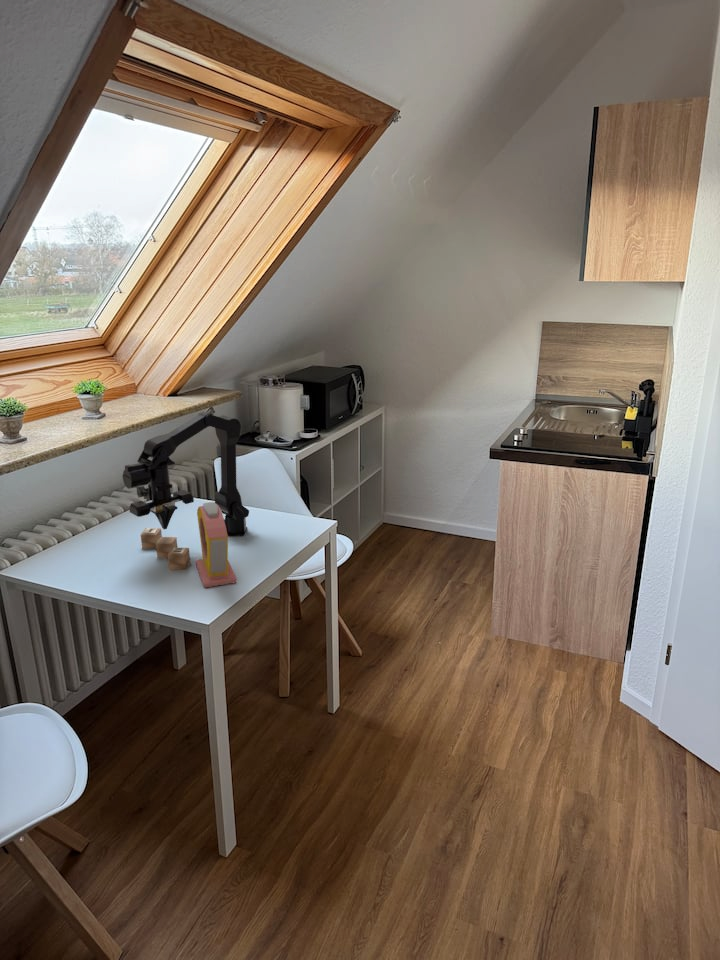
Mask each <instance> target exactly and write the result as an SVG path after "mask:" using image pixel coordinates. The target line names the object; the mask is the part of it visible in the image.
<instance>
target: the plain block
mask: <svg viewBox="0 0 720 960" xmlns="http://www.w3.org/2000/svg"><path fill="white" fill-rule="evenodd" d="M177 538H178V537H176V536H162V537H160V539H159V540H158V541H157V543H156V549H155V550H156V558H157V559H168V553H169V552H170V550H171V549H172V548H179V547H178V540H177Z"/></svg>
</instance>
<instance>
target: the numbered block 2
mask: <svg viewBox="0 0 720 960" xmlns="http://www.w3.org/2000/svg"><path fill="white" fill-rule="evenodd" d="M190 555H191V554H190V548H189V547H178V548H172V549H171V550H170V552H169V553H168V558H167V559H168V560H167V562H168V570H169V571H187V569H188V567H189V565H190V564H191V558H190V557H191V556H190Z"/></svg>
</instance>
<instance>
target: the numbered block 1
mask: <svg viewBox="0 0 720 960" xmlns="http://www.w3.org/2000/svg"><path fill="white" fill-rule="evenodd" d="M160 537H163V535H162V527H160V528H159V527H158V528H156V527H153V528H152V527H151V528H149V527H146V528H144V530H143V531H142V532H141V533H140V539H141V540H140V541H141V549H142V550H148V549H151V550H153V549H154V550H156V543H157V541H158V540H159V539H160Z"/></svg>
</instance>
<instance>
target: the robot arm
mask: <svg viewBox="0 0 720 960" xmlns="http://www.w3.org/2000/svg"><path fill="white" fill-rule="evenodd" d="M208 427H212V428H214V429H215V435H216V437H217V440H218V442H219V443H220V476H221V477H220V482H221V484H220V489H219V491H215V493H214V496H215V501H214V503H216V504H217V505H218V506H219V507H220V509H221V512H222V514H224V515H225V516H224V521H225V525H226V530H227V535H228V537H229V536H230V537H231V536H240V537H241V536H245V535H246V533H247V531H248V526H247V520H246V519H247V518H248V517H249V514H250V510H249V509H248V508H246V507H245V506H243V502H242V496H241V494H240V492H239V489H238V487H237V443H238V442H239V440H240V438H241V431H242V423H241V421H239V419H238V418H236V417H231V416H228V415H224V414H223V415H220V416H216V415H213V414H212V413H210V412H206V411H201V412H199V413H198V414H197V415H196V416H194V417H192V418H191V419H189V420H187V421H186V422H184V423H183V424H181V425H179V426H178V427H176V428H175V429H173V430H172V431H169V432H168V433H166V434H161V435H157V436H155V437H152V438H149V439H147V440H146V441H145V442H144V446H143V449H142V451H141V454H140V455H139V457H138V459H137V461H136V463H135V464H134V463H133V464H126V465H124V470H123V472H122V481H123V485H124V486H125V487H126V488H127V489H129V490H130V489H134V488H136V495H137V497H138V498H142V497H143V499H144V500H148V501H150V502H144V501H143V500H140V501H139V500H138V501H135V502H132V503H130V505H129V507H128V508H129V513H130V514H132V515H134V516H135V517H137V518H140V517H141V518H142V517H144V516H148V515H149V514H150V513H152V514H154V515H155V517H156V518H157V520H158V522H159V524H160V526H161V529H163V530H164V531H165V530H167V529H168V527H169V524H170V522H171V519H172V518H173V517H172V516H173V515H174V513H175V511H176V510H177V509H178V506H176V503H177V502H180V501H181V502H182V503H183V504H185V505H188V504H191V503H194V501H195V498H194V495H193V493H191V492H189V491H187V490H185V489H181V490H178V491H174V492H173V493H172V491H171V489H173V484H172V483H171V481H170V480H171V479H170V470H169V469H170V468H169V466H173V465H176V462H175V461H173V460H172V459H171V458H170V457H171V456H173V454H174V453H175V451H176V449H177V448H178V447H179V446H180V445H182V444H183V443H184V442H187V441H188V440H189V439H191V438H193V437H194V436H196V435H198V434H200V432H202V431H204V430H205V429H206V428H208ZM149 458H150V459H151V460H150V459H149ZM145 486H147V487H145Z"/></svg>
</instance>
